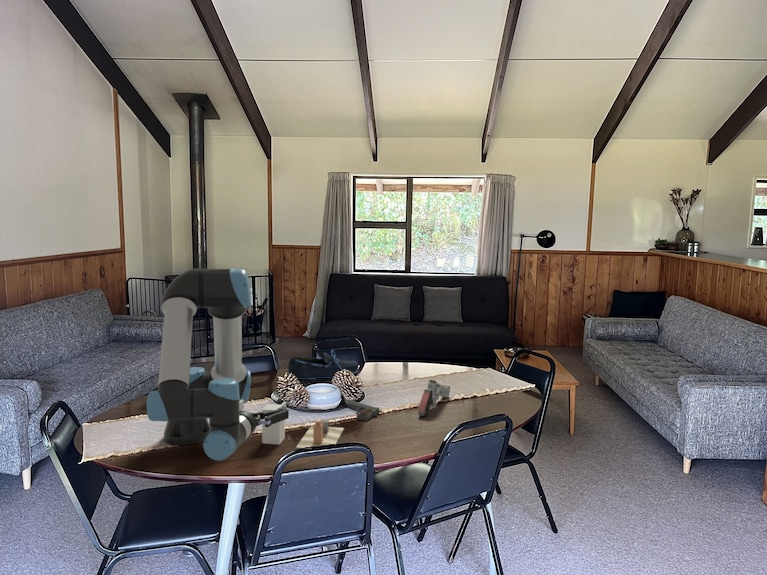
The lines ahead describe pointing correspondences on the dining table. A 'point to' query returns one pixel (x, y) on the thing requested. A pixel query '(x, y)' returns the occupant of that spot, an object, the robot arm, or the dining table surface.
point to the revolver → (432, 396)
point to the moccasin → (319, 366)
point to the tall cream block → (273, 428)
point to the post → (318, 432)
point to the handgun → (363, 410)
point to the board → (328, 436)
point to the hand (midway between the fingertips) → (263, 404)
